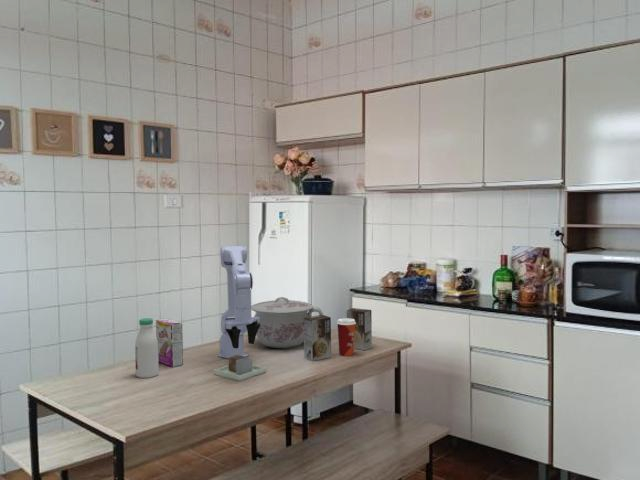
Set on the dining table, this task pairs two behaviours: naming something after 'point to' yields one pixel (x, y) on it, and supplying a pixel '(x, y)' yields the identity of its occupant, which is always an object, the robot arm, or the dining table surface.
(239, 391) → the dining table surface
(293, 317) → the chamber pot
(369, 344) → the coffee box
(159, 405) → the dining table surface
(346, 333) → the paper cup
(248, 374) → the tray
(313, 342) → the coffee box
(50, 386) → the dining table surface
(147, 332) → the milk bottle
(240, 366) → the grey block
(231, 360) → the walnut block
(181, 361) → the candy bar box
